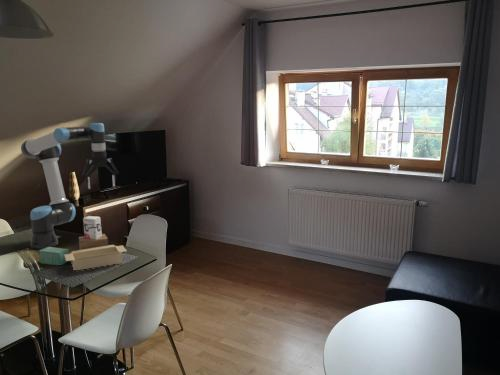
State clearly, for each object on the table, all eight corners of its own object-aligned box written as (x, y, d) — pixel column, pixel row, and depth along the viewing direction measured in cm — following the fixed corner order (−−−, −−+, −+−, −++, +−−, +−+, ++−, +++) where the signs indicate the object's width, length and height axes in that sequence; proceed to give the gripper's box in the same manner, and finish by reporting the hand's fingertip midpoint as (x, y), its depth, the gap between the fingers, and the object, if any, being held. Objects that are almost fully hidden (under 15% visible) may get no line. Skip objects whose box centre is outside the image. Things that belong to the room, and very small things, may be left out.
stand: (80, 254, 236) (78, 237, 234) (105, 250, 243) (104, 233, 241) (82, 259, 228) (80, 242, 226) (108, 255, 234) (107, 238, 232)
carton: (64, 263, 222) (63, 249, 221) (121, 253, 236) (120, 240, 235) (67, 274, 206) (66, 260, 205) (129, 263, 220) (128, 249, 219)
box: (60, 266, 218) (59, 252, 217) (39, 263, 222) (38, 250, 221) (70, 261, 225) (69, 248, 224) (49, 259, 229) (48, 246, 228)
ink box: (84, 238, 233) (82, 217, 231) (90, 235, 237) (88, 215, 235) (96, 239, 230) (94, 218, 228) (102, 237, 234) (100, 216, 232)
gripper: (76, 152, 226) (79, 190, 230) (122, 149, 238) (125, 186, 242) (74, 151, 233) (77, 188, 237) (120, 148, 244) (122, 184, 248)
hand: (101, 187), depth 239 cm, fingers open, 13 cm apart
